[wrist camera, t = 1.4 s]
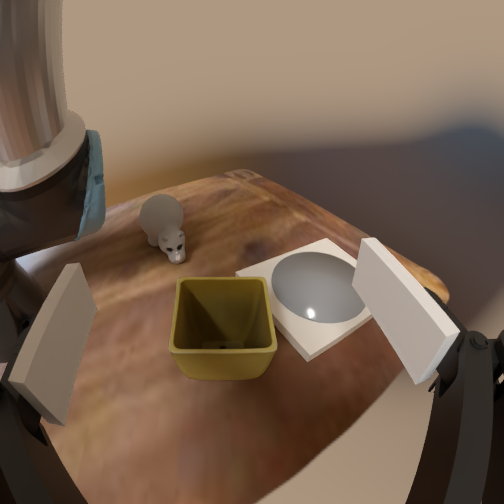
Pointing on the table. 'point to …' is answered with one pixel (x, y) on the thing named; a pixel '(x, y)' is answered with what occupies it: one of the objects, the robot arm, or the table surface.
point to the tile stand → (312, 296)
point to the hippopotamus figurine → (164, 225)
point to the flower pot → (222, 328)
